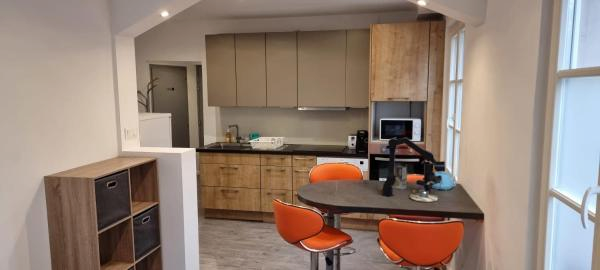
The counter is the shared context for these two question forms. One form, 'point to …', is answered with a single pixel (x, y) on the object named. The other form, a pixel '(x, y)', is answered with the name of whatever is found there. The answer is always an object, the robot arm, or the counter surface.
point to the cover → (424, 193)
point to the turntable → (416, 197)
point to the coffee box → (400, 177)
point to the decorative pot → (444, 181)
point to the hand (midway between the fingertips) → (428, 193)
